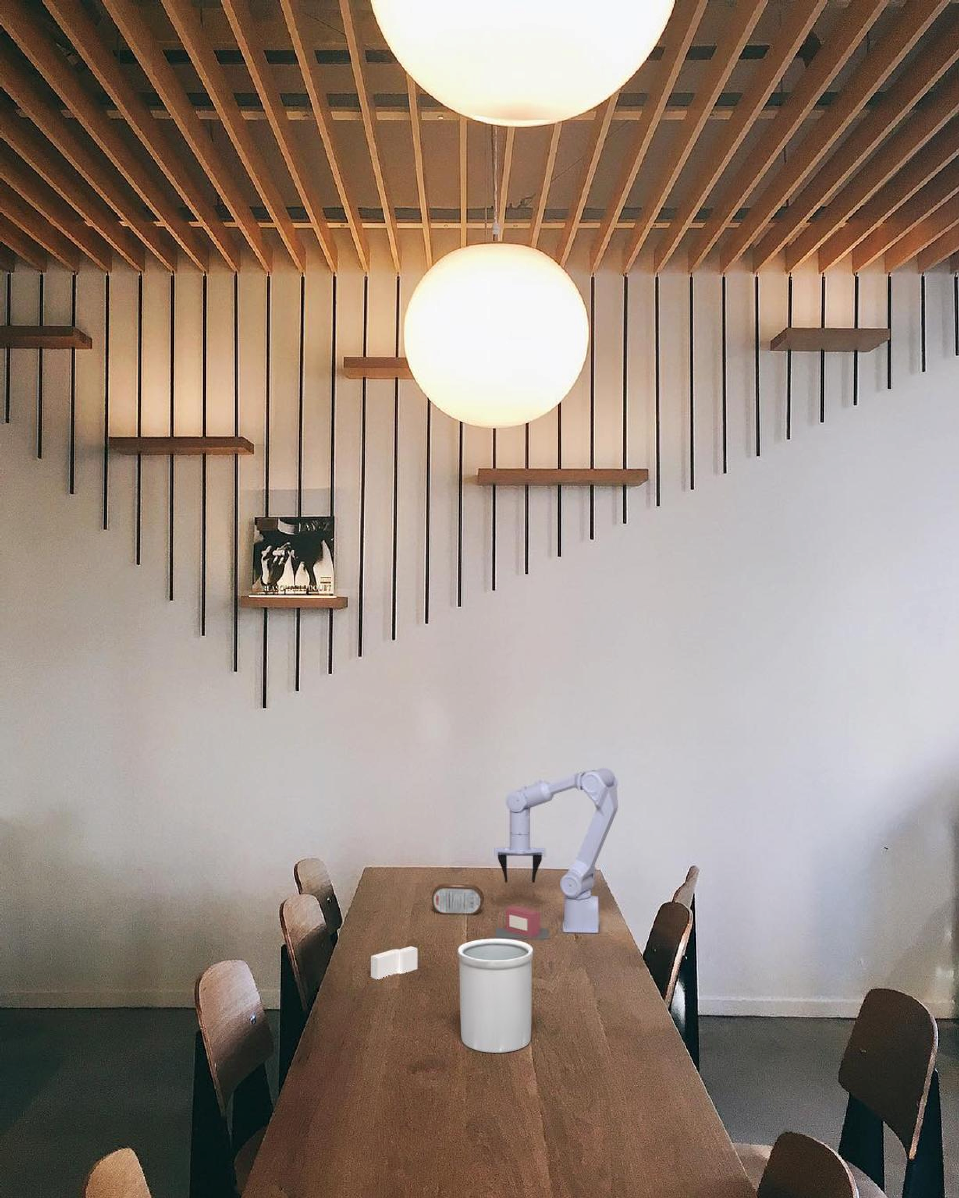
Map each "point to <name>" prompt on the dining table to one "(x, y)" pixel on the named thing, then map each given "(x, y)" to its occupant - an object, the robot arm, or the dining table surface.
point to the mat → (505, 934)
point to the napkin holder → (393, 962)
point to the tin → (457, 899)
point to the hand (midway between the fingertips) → (519, 881)
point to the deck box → (523, 921)
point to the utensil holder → (495, 994)
